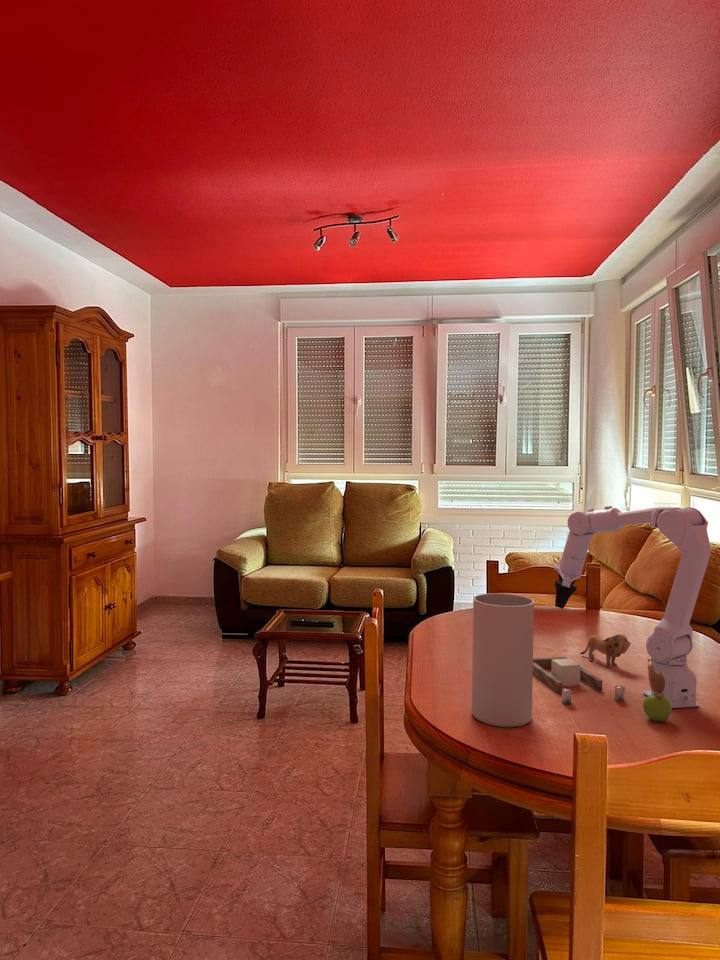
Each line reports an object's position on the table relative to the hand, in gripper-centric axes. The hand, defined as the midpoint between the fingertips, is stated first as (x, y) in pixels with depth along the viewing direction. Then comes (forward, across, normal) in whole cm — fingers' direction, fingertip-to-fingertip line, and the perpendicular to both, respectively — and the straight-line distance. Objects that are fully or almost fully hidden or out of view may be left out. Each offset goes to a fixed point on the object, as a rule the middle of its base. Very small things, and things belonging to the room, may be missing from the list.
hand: (560, 601), depth 170 cm
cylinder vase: (+12, +44, -6) cm, 46 cm away
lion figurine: (+15, -4, +15) cm, 21 cm away
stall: (+14, +15, +5) cm, 21 cm away
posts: (+10, +27, +12) cm, 31 cm away
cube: (+14, +16, +6) cm, 22 cm away
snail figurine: (+6, +32, +24) cm, 41 cm away
